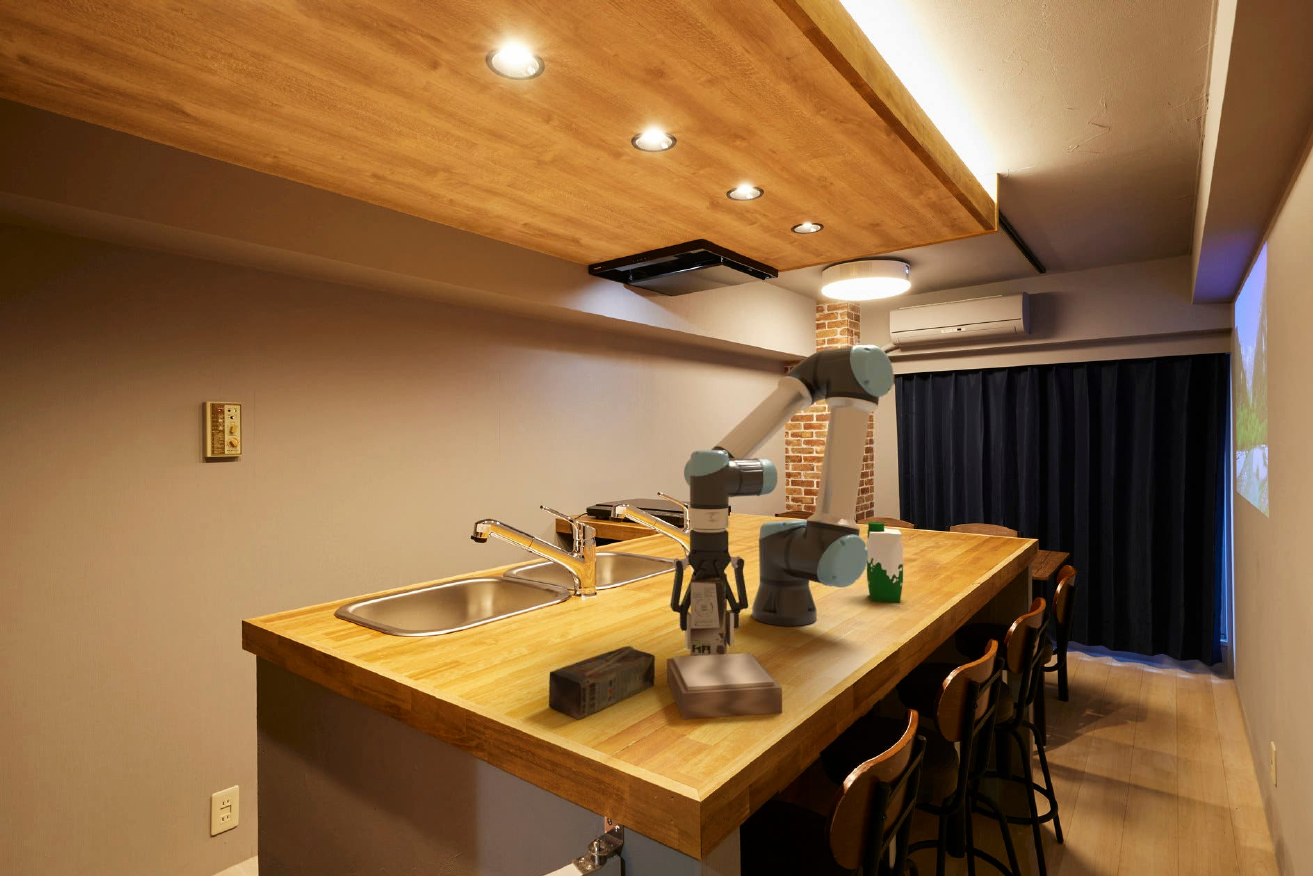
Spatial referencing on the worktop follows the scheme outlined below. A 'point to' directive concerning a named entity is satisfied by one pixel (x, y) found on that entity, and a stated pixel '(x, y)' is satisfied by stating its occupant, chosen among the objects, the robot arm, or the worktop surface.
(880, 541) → the milk carton
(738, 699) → the shelf riser
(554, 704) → the beverage carton
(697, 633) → the coffee box
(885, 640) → the worktop surface
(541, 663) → the worktop surface
